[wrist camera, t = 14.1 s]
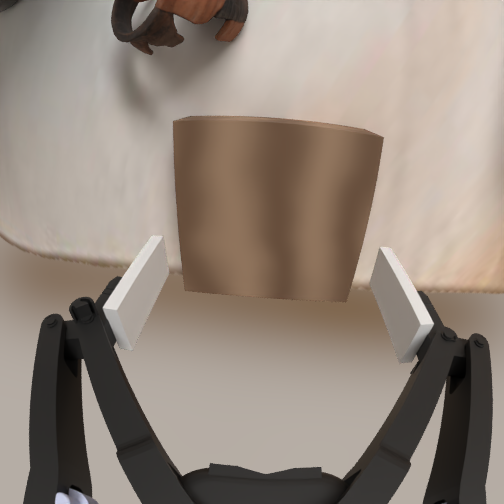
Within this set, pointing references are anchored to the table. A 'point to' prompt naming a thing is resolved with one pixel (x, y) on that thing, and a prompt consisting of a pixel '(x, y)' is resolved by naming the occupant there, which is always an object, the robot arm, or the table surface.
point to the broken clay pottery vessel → (162, 22)
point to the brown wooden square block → (272, 205)
